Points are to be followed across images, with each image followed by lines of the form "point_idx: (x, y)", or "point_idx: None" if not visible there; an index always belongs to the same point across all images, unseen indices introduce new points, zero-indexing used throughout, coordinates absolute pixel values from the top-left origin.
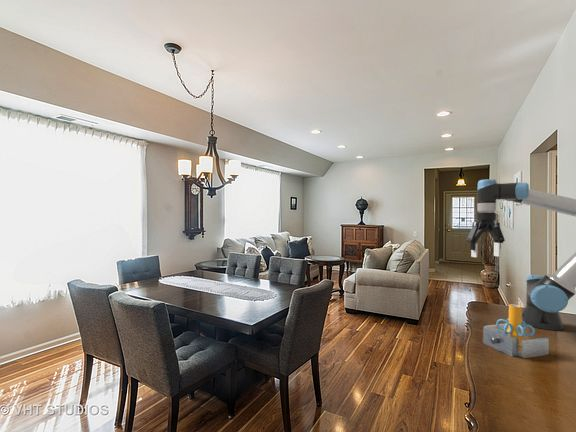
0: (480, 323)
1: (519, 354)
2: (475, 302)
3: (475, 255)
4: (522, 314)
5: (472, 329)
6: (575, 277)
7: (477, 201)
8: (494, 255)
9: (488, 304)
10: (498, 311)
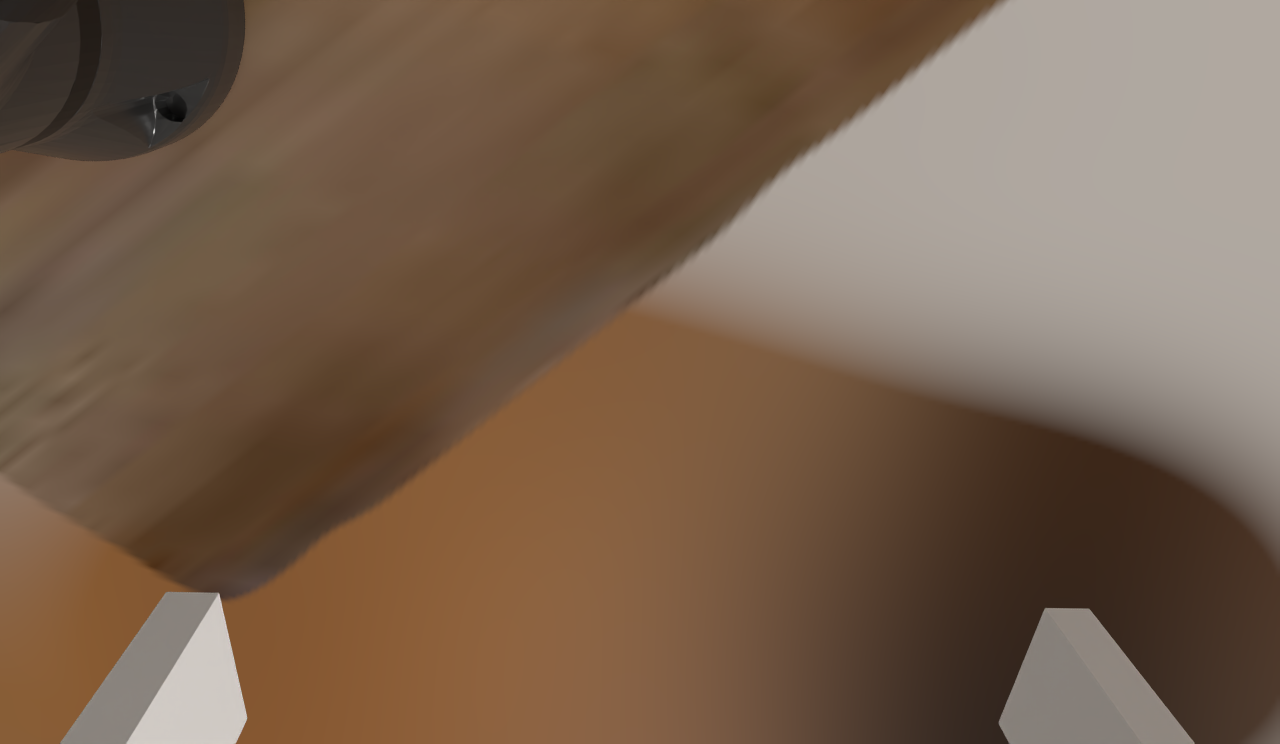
0: (656, 194)
1: None
2: None
3: (1111, 668)
4: (147, 145)
5: (863, 104)
6: None
7: None
8: (237, 713)
9: (131, 533)
10: (200, 377)
